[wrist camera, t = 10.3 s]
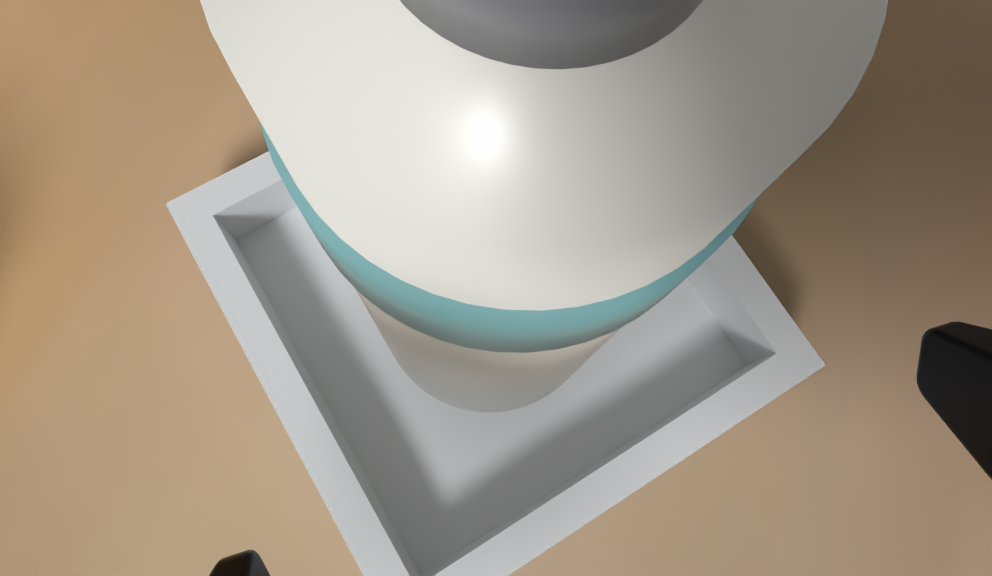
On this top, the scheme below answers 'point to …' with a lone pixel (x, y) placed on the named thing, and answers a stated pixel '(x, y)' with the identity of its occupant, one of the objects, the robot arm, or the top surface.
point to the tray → (469, 434)
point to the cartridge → (532, 156)
